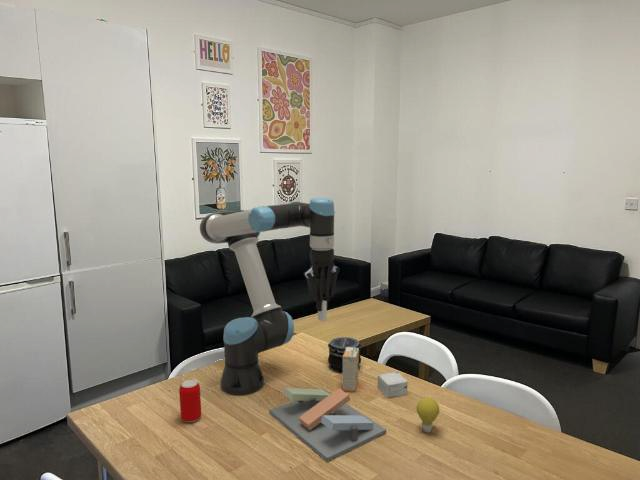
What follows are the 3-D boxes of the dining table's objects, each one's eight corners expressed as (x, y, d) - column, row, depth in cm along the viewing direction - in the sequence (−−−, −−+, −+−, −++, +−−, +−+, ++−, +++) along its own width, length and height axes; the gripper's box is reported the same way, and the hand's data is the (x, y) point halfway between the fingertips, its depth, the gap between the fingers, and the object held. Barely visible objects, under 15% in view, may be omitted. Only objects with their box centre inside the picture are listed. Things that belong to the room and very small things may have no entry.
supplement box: (355, 392, 164) (356, 357, 162) (342, 391, 165) (342, 356, 163) (358, 381, 172) (359, 347, 170) (345, 380, 173) (345, 346, 171)
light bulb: (439, 425, 145) (441, 395, 143) (437, 438, 139) (438, 406, 137) (417, 421, 147) (418, 391, 145) (414, 433, 141) (415, 402, 139)
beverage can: (205, 416, 150) (203, 380, 148) (192, 426, 145) (190, 389, 143) (190, 411, 153) (188, 376, 151) (176, 421, 147) (174, 385, 145)
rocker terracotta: (300, 423, 144) (298, 416, 143) (339, 394, 152) (338, 387, 151) (311, 432, 139) (309, 425, 139) (351, 401, 148) (349, 395, 147)
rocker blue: (319, 423, 135) (322, 414, 135) (359, 423, 145) (361, 415, 145) (331, 432, 131) (334, 423, 131) (372, 431, 140) (374, 423, 140)
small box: (386, 398, 161) (387, 384, 160) (376, 387, 168) (377, 374, 167) (407, 395, 163) (408, 381, 162) (396, 384, 171) (397, 371, 170)
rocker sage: (281, 394, 151) (283, 387, 151) (319, 396, 161) (321, 389, 161) (291, 402, 146) (293, 394, 146) (330, 403, 156) (332, 395, 156)
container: (324, 361, 189) (324, 337, 187) (355, 358, 192) (355, 334, 190) (332, 376, 177) (332, 350, 175) (365, 372, 180) (366, 347, 178)
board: (269, 413, 152) (269, 398, 151) (324, 392, 165) (324, 378, 164) (327, 462, 128) (327, 444, 127) (386, 433, 141) (386, 417, 140)
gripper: (312, 252, 143) (312, 327, 147) (345, 247, 150) (345, 318, 155) (298, 248, 149) (298, 320, 153) (331, 243, 156) (330, 312, 161)
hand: (322, 319), depth 154 cm, fingers closed
